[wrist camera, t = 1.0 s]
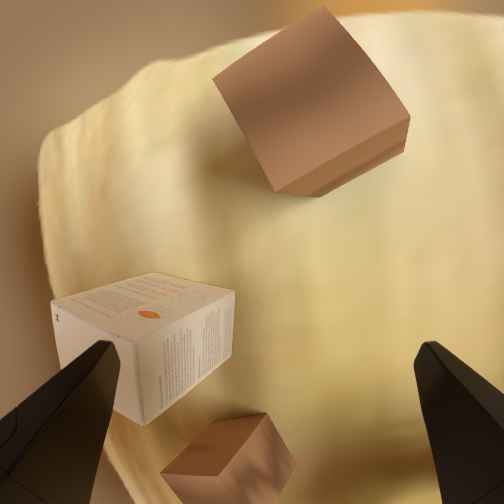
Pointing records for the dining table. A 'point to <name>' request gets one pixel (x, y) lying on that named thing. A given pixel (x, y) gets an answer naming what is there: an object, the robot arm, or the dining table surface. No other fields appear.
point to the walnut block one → (232, 464)
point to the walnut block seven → (314, 107)
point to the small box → (150, 336)
